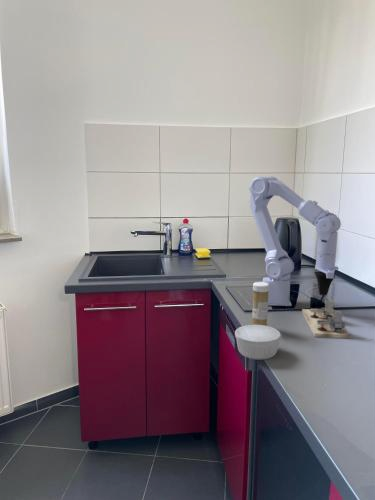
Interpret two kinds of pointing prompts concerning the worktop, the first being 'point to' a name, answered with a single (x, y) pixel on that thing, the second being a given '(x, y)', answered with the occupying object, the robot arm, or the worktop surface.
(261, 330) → the ramekin
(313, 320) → the board
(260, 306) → the sprinkles bottle
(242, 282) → the worktop surface
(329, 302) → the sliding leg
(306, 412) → the worktop surface
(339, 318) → the fixed leg
